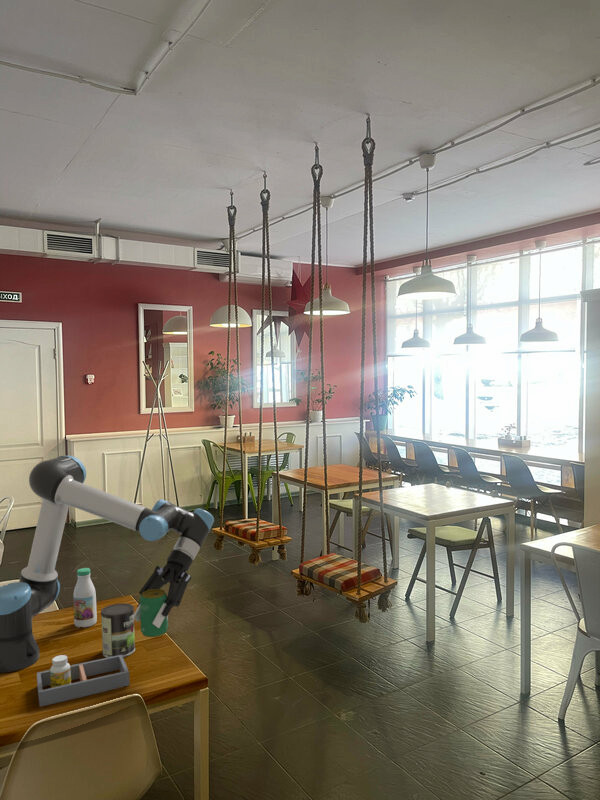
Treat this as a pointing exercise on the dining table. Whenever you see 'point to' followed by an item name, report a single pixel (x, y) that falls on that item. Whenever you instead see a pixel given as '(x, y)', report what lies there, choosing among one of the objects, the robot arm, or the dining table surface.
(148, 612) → the beverage can
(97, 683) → the caddy
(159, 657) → the dining table surface
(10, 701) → the dining table surface
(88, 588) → the milk bottle
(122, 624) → the coffee can
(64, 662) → the supplement bottle
